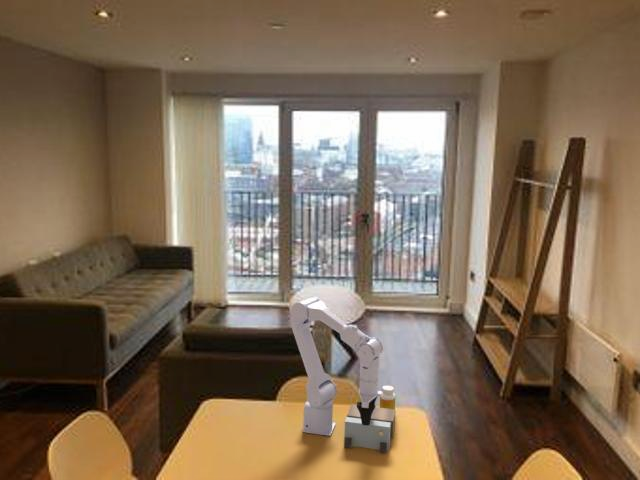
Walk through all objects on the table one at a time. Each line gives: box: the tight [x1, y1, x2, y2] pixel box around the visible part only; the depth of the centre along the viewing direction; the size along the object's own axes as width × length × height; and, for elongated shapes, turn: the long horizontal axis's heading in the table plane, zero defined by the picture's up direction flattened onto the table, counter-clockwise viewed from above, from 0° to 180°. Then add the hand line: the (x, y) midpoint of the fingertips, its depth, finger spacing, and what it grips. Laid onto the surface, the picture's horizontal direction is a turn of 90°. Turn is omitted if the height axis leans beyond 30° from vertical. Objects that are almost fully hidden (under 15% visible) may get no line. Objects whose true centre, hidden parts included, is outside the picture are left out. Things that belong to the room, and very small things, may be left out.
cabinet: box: [344, 403, 397, 455], centre depth 178 cm, size 15×17×6 cm
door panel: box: [343, 416, 391, 452], centre depth 172 cm, size 14×4×8 cm, turn 77°
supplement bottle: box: [379, 385, 396, 410], centre depth 193 cm, size 5×5×10 cm
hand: (367, 418), depth 172 cm, fingers open, 7 cm apart
